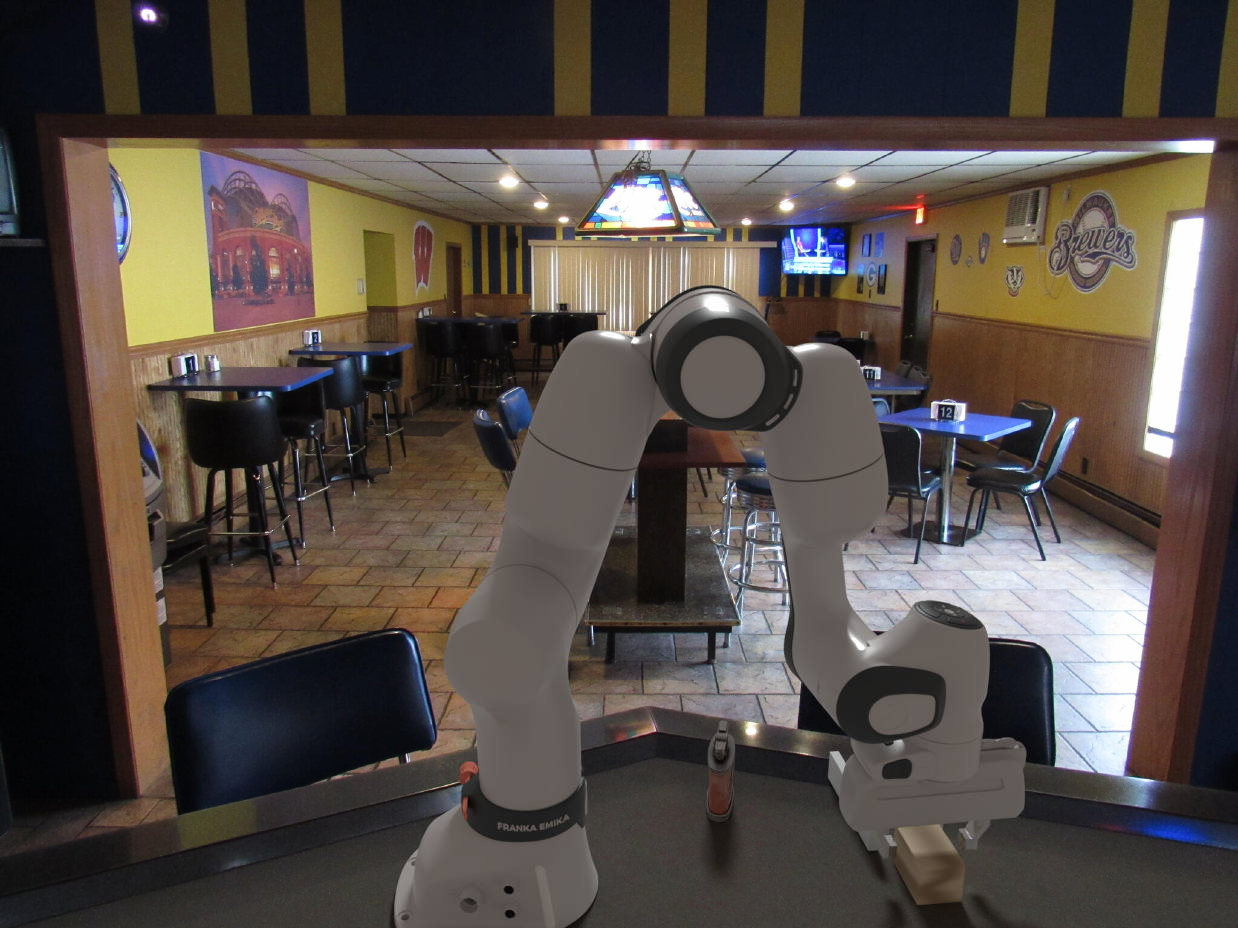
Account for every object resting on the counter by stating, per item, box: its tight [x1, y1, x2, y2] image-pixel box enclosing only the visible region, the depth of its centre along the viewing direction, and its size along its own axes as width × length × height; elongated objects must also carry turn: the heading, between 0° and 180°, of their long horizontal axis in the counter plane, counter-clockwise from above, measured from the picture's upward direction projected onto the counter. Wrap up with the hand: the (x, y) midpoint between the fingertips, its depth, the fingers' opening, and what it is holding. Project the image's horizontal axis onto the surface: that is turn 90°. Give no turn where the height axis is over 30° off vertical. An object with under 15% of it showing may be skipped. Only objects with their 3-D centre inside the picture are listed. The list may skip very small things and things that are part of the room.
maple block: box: [891, 824, 967, 906], centre depth 95 cm, size 5×7×5 cm
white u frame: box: [827, 750, 944, 852], centre depth 107 cm, size 9×14×4 cm, turn 6°
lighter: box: [706, 720, 736, 823], centre depth 108 cm, size 8×3×10 cm, turn 168°
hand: (927, 850), depth 95 cm, fingers open, 8 cm apart
